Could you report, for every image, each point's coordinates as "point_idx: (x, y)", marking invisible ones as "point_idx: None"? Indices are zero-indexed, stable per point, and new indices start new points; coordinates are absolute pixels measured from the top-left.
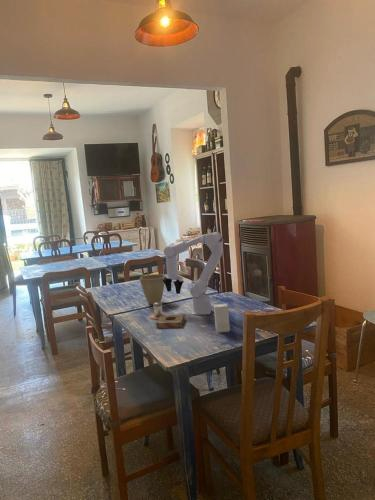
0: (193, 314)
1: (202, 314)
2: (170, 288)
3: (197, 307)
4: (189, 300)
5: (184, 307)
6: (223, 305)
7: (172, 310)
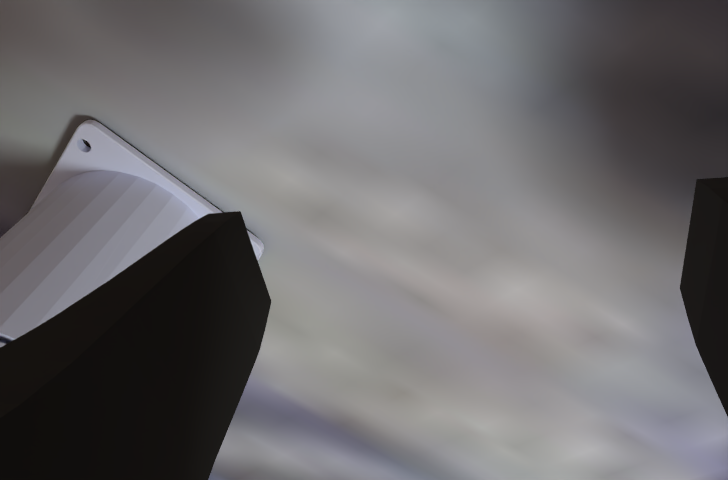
0: (78, 130)
1: (33, 206)
2: (717, 347)
3: (9, 230)
4: (698, 441)
5: (497, 246)
6: None
7: (532, 35)
